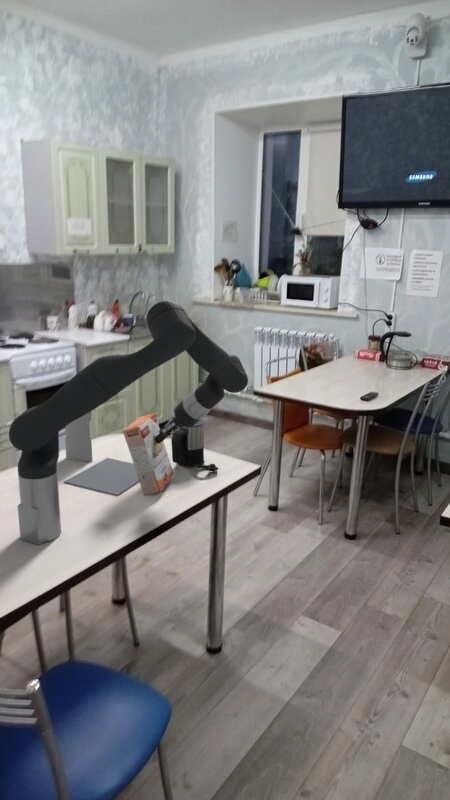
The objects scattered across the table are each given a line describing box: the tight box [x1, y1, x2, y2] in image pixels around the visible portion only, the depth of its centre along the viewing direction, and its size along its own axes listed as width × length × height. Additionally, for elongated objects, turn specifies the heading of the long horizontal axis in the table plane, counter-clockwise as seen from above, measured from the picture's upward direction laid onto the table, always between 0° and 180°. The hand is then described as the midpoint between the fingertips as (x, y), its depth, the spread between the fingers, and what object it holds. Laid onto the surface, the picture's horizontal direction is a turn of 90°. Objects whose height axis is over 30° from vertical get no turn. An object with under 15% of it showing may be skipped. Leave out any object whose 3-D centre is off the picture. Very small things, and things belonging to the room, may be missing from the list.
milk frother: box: [171, 418, 219, 473], centre depth 188 cm, size 14×16×15 cm
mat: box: [63, 457, 140, 497], centre depth 181 cm, size 22×20×1 cm
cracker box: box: [122, 413, 175, 496], centre depth 171 cm, size 14×6×21 cm, turn 168°
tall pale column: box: [64, 411, 93, 463], centre depth 190 cm, size 11×4×22 cm, turn 75°
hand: (157, 440), depth 170 cm, fingers closed
